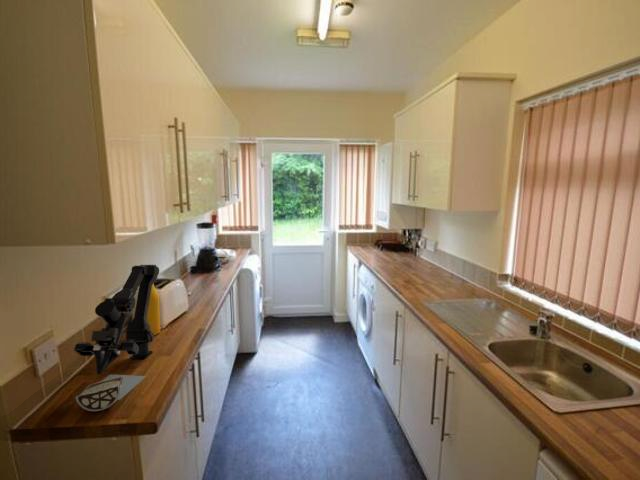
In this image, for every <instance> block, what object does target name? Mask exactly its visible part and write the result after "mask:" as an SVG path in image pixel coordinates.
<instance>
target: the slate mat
mask: <svg viewBox="0 0 640 480" xmlns="http://www.w3.org/2000/svg"><path fill="white" fill-rule="evenodd" d="M121 376H122V377H123V380H122V391H121V394H120V396H119V398H118V399H117V401H118V402H119V401H121V400H122V399H124V397H125V396H127V395H128V394H129V393H130V392H131V391H132V390H134V388H135V387H137V386H138V385H139V384H140V383H141V382H143V380H145V379H146V377H147V376H146V375H132V374H131V375H127V374H109V375H108V376H106V377H105V378H103V379H102V380H101V381H105V380H109V379H113V378H117V377H121ZM117 401H116V402H117Z"/></svg>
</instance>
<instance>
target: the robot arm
mask: <svg viewBox="0 0 640 480" xmlns="http://www.w3.org/2000/svg"><path fill="white" fill-rule="evenodd" d="M159 274H160V268H159V267H158V266H157V265H156V264H139V265H133V266H132V267H131V272H130V273H129V275H128V277H127V279H126V281H125V282H124V284H123V287H122V289H121V290H118V291H117V292H116V293H114V295H113V296H112V298H111V297H109V298H105V299H104V301H102V302H100V303H99V304H97V306H96V307H95V308H94V312H95V314H96V316H97V317H99V319H101V321H102V322H104V323H105V325H104V327H103V328H101V330H93V331H92V332H91V338H90V341H87V342H86V341H85V342H77V343H76V344H75V345H74V347H73V351H74V352H75V353H76V354H78V355H79V356H82V357H91V356H94V357H95V361H96V362H95V363H96V375H98V376H101V375H103V373H104V372H105V371H106V369H107V368H108V367H109V366H110V365H111V364H112V363H113V362H114V361H115V360H116V359H117V358H120V357H121V355H120V354H121V352H122V351H126V353H127V355H131V356H129V359H135V360H136V359H137V360H138V359H139V360H145V359H147V358H148V357H149V356H150V355H151V354H153V353H154V351H153V350H150V343H152V342H154V336H155V335H154V334H153V332H152V331H151V330H150V324H149V322H148V321H147V314H148V307H149V301H150V294H151V288H152V285H153V284H154V285H155V282H156V281H157V280H158V276H159ZM137 291H138V292H137ZM136 293H137V298H135V295H136ZM134 308H135V310H134V316H133V318H132V319H131V320H130V321H129V318H128V316H127V314H126V313H129V312H132V311H133V309H134ZM126 323H127V325H126ZM125 325H126V326H127V328H126V331H125V334H123V331H124V328H125ZM124 335H125V340H123V341H121V338H124ZM120 341H121V342H120ZM91 342H95V344H96V345H93V343H91Z"/></svg>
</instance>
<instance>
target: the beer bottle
mask: <svg viewBox="0 0 640 480" xmlns="http://www.w3.org/2000/svg"><path fill="white" fill-rule="evenodd" d="M160 314H161V313H160V296H159V292H158V291H157V289H156V287H155V283H154V284H153V285H152V288H151V294H150V301H149V307H148V314H147V321H148V322H149V324H150V330H151V331H152V332H153V334H154V336H157V335H158V333H159V334H160V333H161V315H160ZM156 334H157V335H156Z"/></svg>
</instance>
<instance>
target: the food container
mask: <svg viewBox="0 0 640 480" xmlns="http://www.w3.org/2000/svg"><path fill="white" fill-rule="evenodd" d="M122 380H123V377H122V376H121V377H117V378H113V379H109V380H105V381H102V380H101V381H98V382H95V383H90V384H89V385H88V386H87V387H86V388H84V390H82V392H81V393H80V394H79V395H78V396H77V395H76V396H75V400H76V402H77V405H79V406H80V407H81V408H82V409H83V410H86V411H89V412H100V411H105V410H106V409H108V408H110V407H111V406H112V405H113V404H115V403H116V402H117V399H118V398H119V396H120V394H121V391H122Z"/></svg>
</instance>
